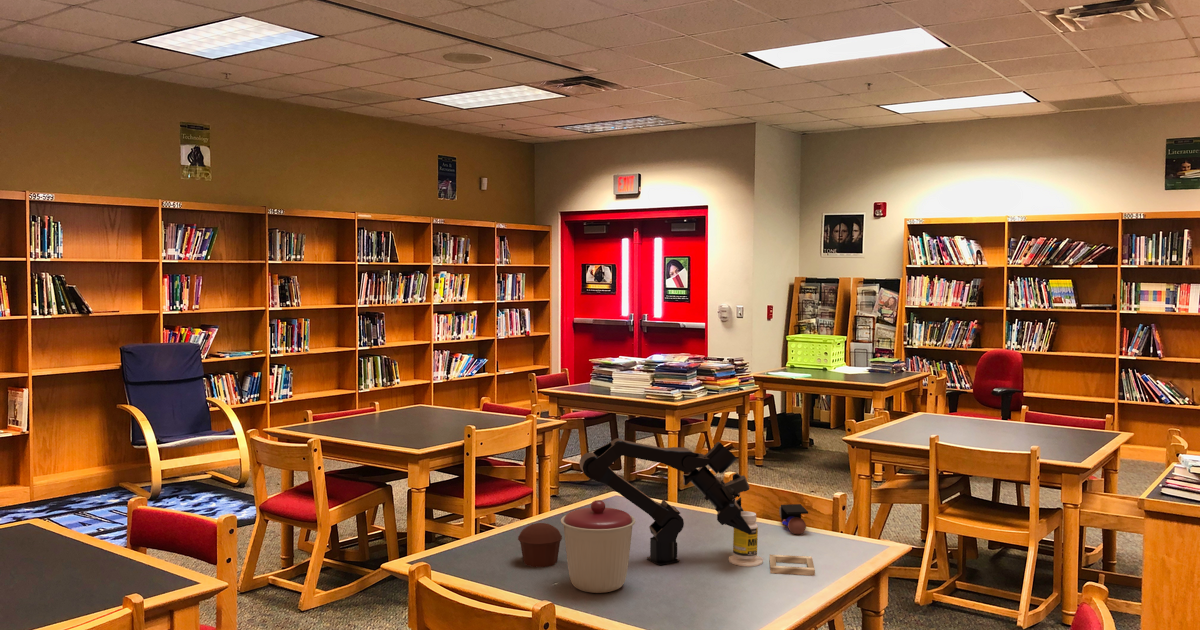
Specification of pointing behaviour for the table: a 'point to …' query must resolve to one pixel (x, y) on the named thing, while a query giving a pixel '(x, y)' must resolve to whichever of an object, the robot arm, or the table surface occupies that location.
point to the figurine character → (793, 517)
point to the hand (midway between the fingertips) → (750, 529)
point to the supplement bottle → (746, 538)
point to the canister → (598, 547)
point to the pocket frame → (792, 570)
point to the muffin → (540, 544)
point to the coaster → (746, 561)
